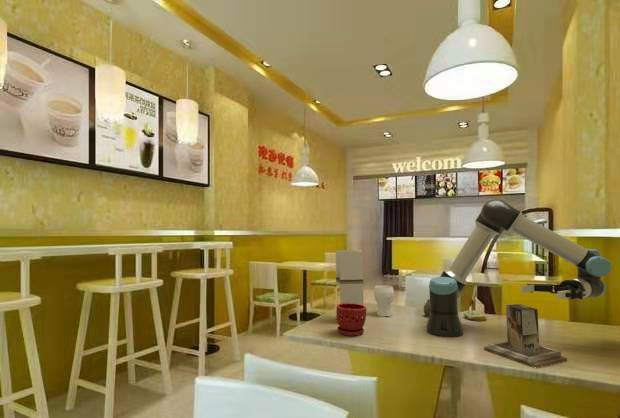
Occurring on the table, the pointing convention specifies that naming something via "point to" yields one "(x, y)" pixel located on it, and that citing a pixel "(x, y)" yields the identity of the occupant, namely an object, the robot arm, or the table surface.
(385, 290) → the cup
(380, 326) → the table surface
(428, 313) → the vase
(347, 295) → the white banded column
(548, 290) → the robot arm
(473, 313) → the decorated donut
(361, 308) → the plant pot
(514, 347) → the coffee box
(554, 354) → the brown flat tray
